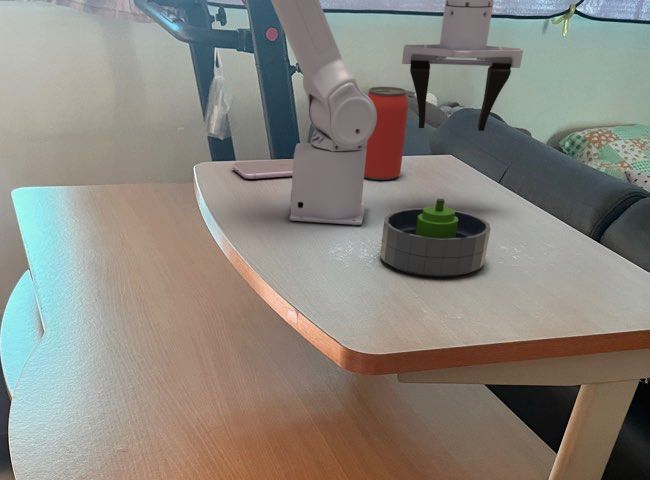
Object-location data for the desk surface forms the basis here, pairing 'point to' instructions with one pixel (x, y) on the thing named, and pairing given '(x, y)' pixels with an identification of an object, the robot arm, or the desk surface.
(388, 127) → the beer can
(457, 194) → the desk surface
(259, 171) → the mobile phone
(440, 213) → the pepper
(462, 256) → the bowl
